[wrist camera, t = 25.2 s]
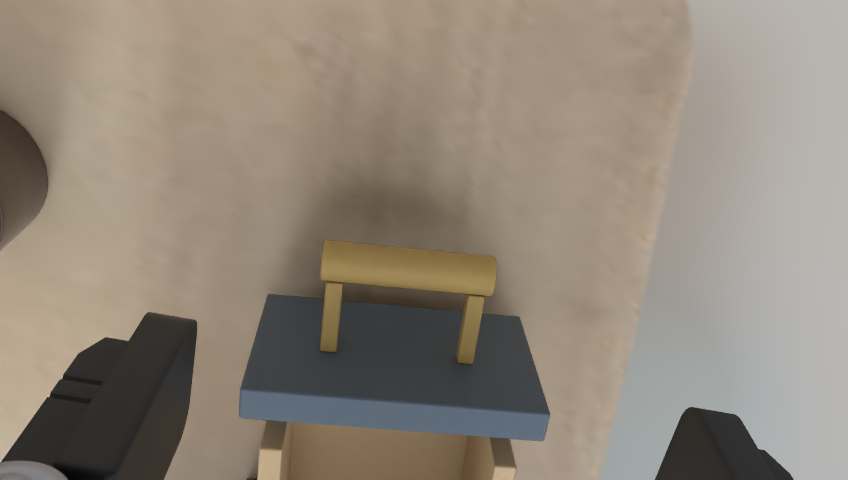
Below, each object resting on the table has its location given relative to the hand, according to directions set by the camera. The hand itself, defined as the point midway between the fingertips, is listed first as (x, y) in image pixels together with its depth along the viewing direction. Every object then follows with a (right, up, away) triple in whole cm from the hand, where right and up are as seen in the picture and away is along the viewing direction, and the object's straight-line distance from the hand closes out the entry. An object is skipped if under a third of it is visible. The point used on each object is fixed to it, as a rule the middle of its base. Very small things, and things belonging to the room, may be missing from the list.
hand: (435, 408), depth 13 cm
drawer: (-2, -4, +22) cm, 22 cm away
